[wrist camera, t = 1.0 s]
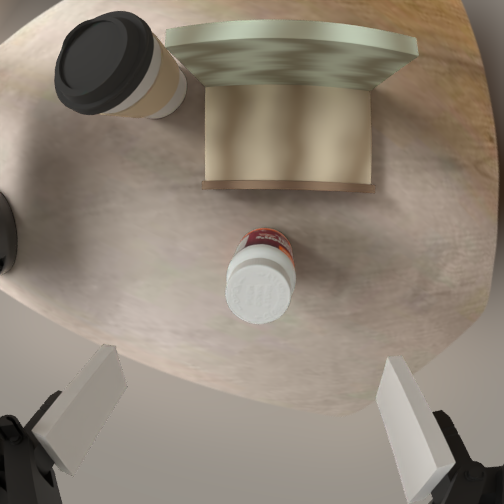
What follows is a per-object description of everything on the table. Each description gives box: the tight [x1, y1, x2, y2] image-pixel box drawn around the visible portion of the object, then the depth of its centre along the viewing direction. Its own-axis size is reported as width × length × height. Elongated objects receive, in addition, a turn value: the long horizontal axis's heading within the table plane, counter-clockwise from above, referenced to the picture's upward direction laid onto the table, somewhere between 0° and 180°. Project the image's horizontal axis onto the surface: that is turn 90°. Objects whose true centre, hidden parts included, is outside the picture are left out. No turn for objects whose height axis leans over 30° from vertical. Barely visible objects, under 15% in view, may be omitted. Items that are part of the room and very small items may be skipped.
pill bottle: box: [225, 228, 296, 324], centre depth 28 cm, size 6×6×11 cm
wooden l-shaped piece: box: [165, 20, 419, 193], centre depth 23 cm, size 17×12×14 cm
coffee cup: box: [54, 11, 187, 119], centre depth 22 cm, size 9×9×15 cm
